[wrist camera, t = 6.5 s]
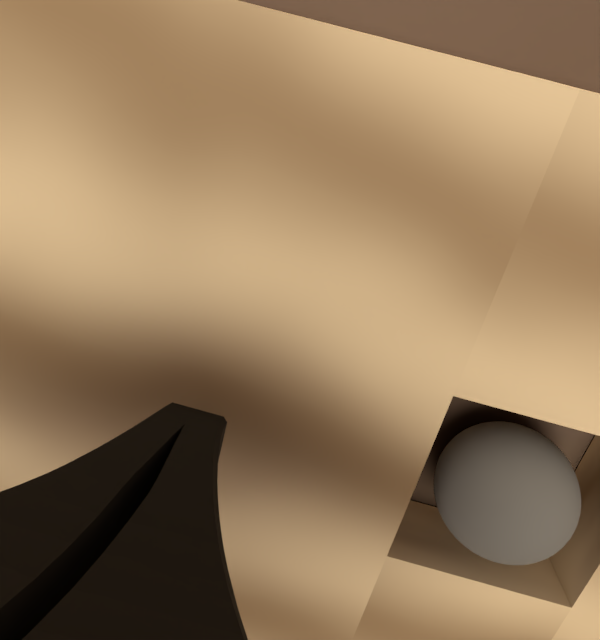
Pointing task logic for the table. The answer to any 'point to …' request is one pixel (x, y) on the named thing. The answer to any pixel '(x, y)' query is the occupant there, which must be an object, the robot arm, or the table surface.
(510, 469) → the ball
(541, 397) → the deck
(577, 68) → the table surface
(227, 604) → the robot arm
